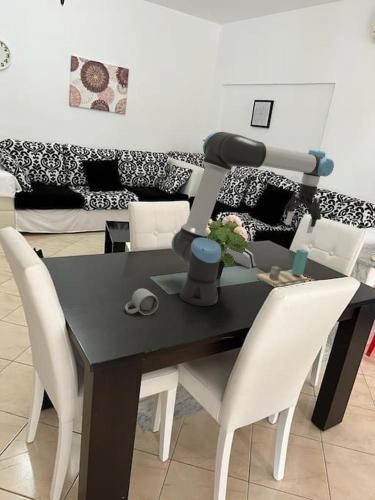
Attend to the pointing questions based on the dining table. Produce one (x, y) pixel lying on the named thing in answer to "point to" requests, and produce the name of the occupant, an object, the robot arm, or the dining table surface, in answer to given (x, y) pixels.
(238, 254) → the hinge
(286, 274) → the hole board
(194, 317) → the dining table surface
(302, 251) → the block
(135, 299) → the ceramic mug
